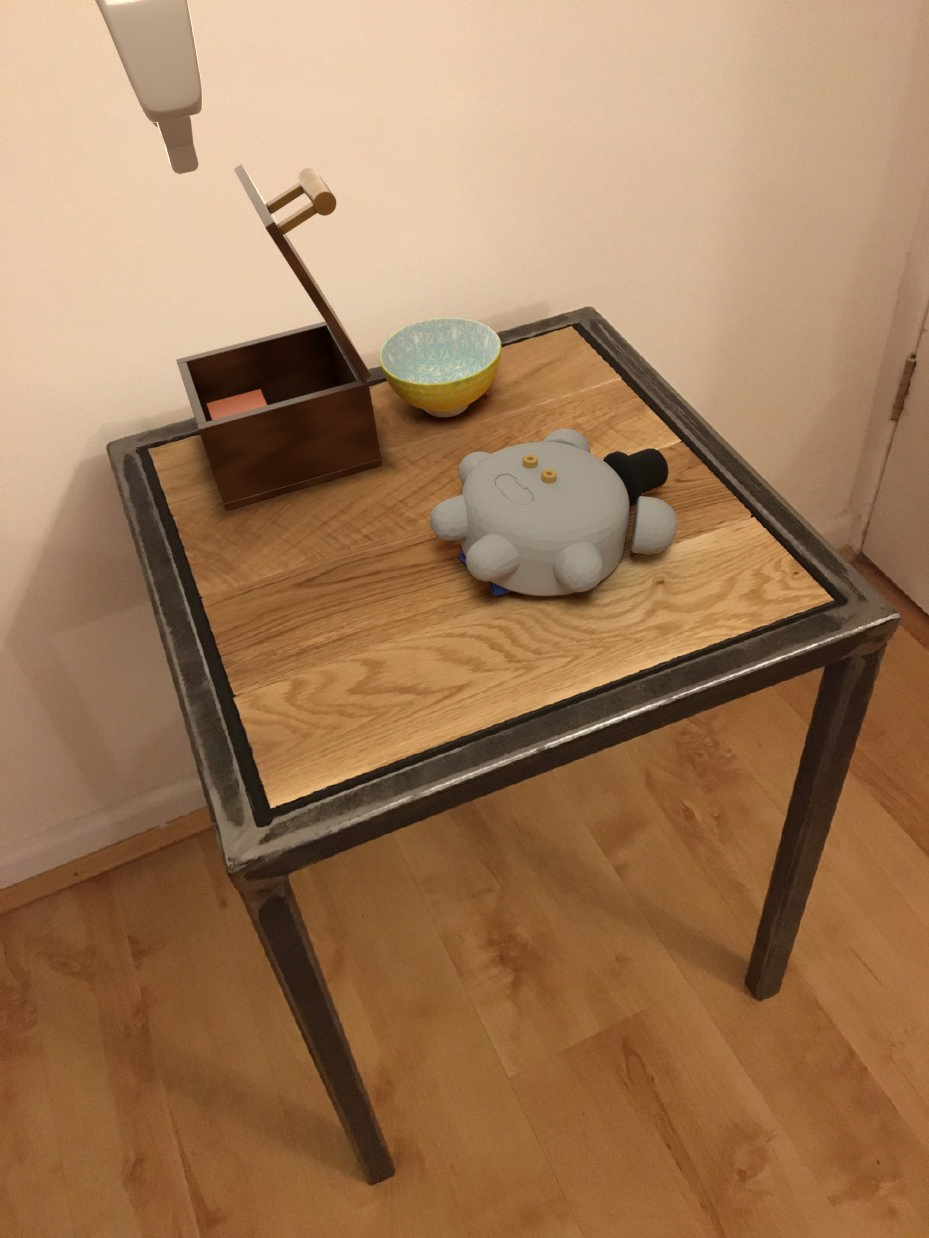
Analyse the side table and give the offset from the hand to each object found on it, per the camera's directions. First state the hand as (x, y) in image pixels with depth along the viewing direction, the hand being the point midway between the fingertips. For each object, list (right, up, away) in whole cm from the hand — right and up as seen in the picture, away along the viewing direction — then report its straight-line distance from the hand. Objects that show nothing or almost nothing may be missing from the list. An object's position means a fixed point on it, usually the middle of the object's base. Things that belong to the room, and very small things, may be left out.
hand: (174, 145), depth 69 cm
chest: (+4, -18, +21) cm, 28 cm away
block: (+1, -19, +20) cm, 27 cm away
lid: (+7, -6, +10) cm, 14 cm away
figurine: (+29, -28, +11) cm, 41 cm away
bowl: (+19, -13, +25) cm, 34 cm away
